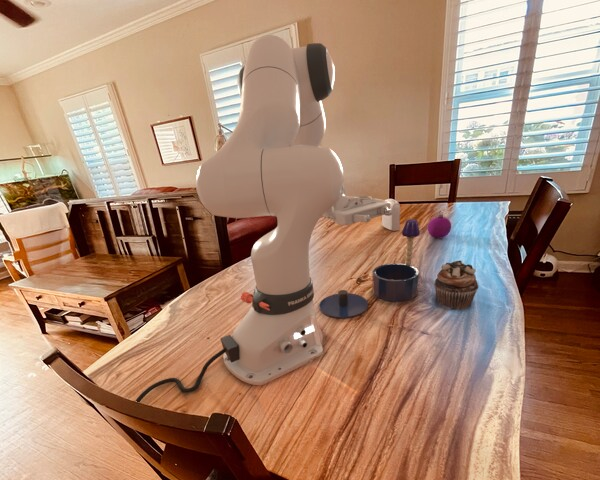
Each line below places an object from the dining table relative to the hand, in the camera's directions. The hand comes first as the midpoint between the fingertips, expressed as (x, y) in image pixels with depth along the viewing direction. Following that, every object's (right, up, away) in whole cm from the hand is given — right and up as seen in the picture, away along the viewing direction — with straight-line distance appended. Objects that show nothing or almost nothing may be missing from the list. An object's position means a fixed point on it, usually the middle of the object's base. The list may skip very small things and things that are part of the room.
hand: (379, 215), depth 95 cm
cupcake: (+14, -26, -17) cm, 34 cm away
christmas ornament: (+29, -2, +25) cm, 39 cm away
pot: (+1, -24, -10) cm, 26 cm away
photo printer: (+16, +6, +43) cm, 46 cm away
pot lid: (-13, -27, -15) cm, 33 cm away
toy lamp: (+8, -18, -1) cm, 20 cm away
